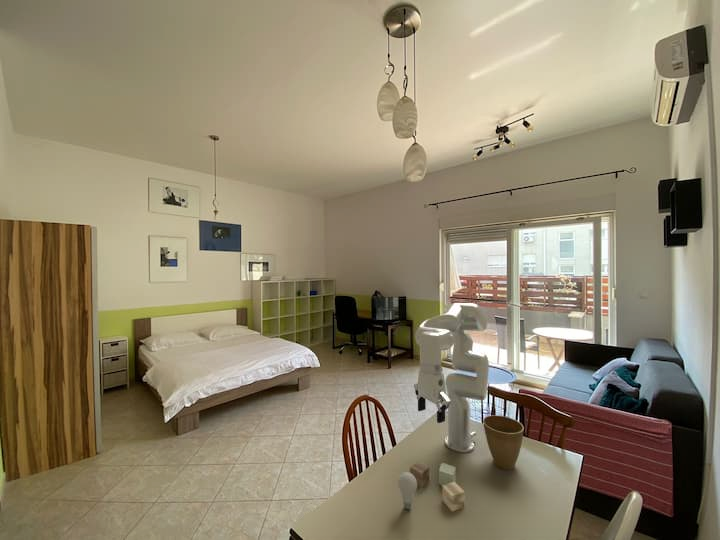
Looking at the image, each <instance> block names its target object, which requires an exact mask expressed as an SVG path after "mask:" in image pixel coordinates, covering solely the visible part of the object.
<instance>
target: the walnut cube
mask: <svg viewBox="0 0 720 540" xmlns="http://www.w3.org/2000/svg"><path fill="white" fill-rule="evenodd" d="M409 468H410V471H409V473H411V474H412V475H413V476H414V477H415V479H416V481H417V486H419V487H421V488H423V487H424V486H426V484H427V483H429V481H430V466H428V465H426V464H424V463H422V462H421V461H419V460H417V461H416V462H415V463H413V464H412V465H411V466H410V467H409Z"/></svg>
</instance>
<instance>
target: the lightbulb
mask: <svg viewBox="0 0 720 540" xmlns="http://www.w3.org/2000/svg"><path fill="white" fill-rule="evenodd" d="M397 481H398V483H397V485H398V488H399V491H400V492H401V494H402V500H403V507H404V509H406V510H411V509H412V505H413V498H414V495H415V493H416V491H417V488H418V485H417V481H416V479H415V477H414V476H413V475H412V474H411V473H410V472H406V471H405V472H403V473H402V474H400V476H399V478H398V480H397Z"/></svg>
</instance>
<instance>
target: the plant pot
mask: <svg viewBox="0 0 720 540" xmlns="http://www.w3.org/2000/svg"><path fill="white" fill-rule="evenodd" d="M482 422H483V423H482V424H483V429H484V434H485V438H486V442H487V447H488V449H489V452H490V454H491V457H492V460H493V462H494V464H495V465H496V466H498V467H499V468H501V469H504V470H510V469H513V468H514V467H515V466H516V463H517V461H518V458H519V455H520V451H521V447H522V444H523V437H524V429H525V427H524V426H523V424H522V423H521V422H520V421H518V420H517V419H515V418H511V417H508V416H505V415H499V414H498V415H496V414H495V415H494V414H493V415H488V416H485V417H484V418H483V419H482Z"/></svg>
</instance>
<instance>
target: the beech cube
mask: <svg viewBox="0 0 720 540" xmlns="http://www.w3.org/2000/svg"><path fill="white" fill-rule="evenodd" d="M441 486H442V485H441ZM441 490H442V491H441V493H442V502H443V503H444V505H446V506H447V507H448V509H449V510H450V511H451V512H454V511H457V510H460V509H464V508H465V506H466V505H465V491H464V490H463V489H462V488H461V486H459V485H458V484H457V483H456V481H455V482H452V483H449V484H446V485H443V486H442V489H441Z"/></svg>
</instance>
